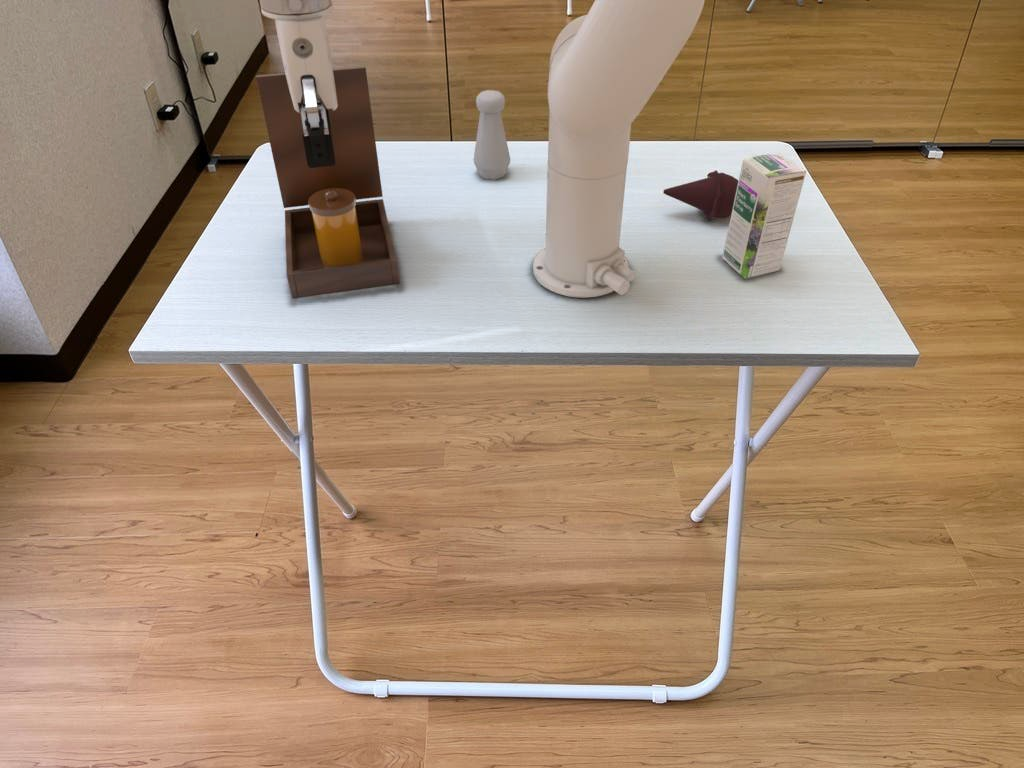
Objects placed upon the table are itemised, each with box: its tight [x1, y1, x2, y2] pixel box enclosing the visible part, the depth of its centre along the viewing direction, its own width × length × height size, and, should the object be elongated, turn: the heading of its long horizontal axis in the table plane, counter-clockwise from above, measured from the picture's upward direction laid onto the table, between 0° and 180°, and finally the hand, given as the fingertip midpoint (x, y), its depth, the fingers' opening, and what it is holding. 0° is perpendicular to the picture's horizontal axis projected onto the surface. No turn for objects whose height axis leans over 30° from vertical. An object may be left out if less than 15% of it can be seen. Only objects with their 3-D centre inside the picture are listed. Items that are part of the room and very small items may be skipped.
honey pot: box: [308, 188, 363, 267], centre depth 101 cm, size 6×6×10 cm
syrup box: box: [722, 152, 807, 280], centre depth 99 cm, size 6×6×14 cm
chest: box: [284, 198, 401, 299], centre depth 104 cm, size 17×14×4 cm
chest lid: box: [255, 65, 383, 209], centre depth 103 cm, size 17×14×1 cm
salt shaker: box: [473, 89, 511, 181], centre depth 120 cm, size 6×6×13 cm
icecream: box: [662, 169, 739, 221], centre depth 112 cm, size 7×7×15 cm
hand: (319, 148), depth 94 cm, fingers open, 9 cm apart
